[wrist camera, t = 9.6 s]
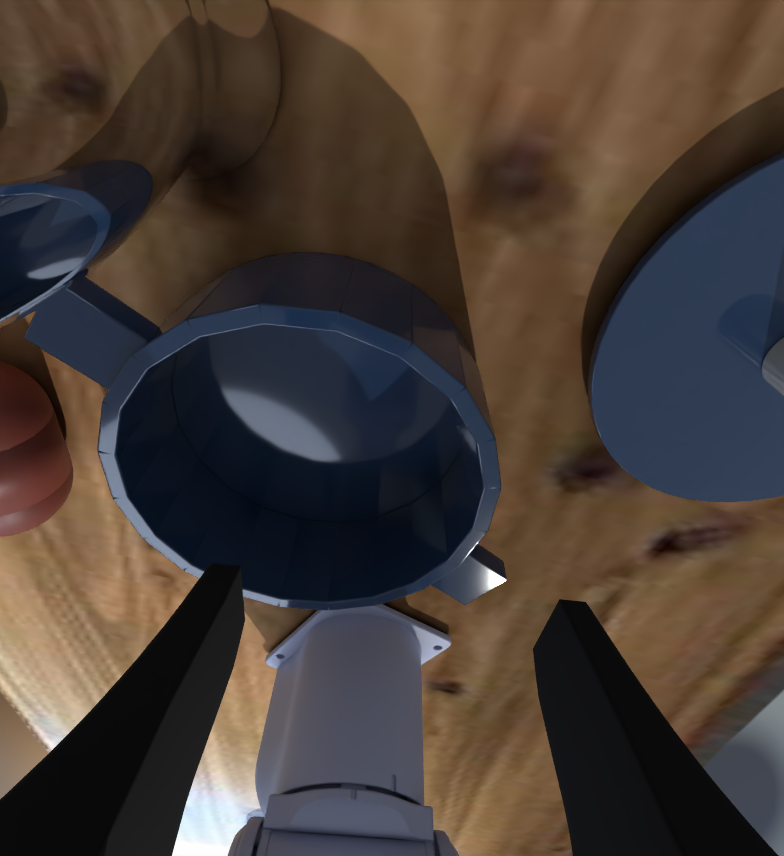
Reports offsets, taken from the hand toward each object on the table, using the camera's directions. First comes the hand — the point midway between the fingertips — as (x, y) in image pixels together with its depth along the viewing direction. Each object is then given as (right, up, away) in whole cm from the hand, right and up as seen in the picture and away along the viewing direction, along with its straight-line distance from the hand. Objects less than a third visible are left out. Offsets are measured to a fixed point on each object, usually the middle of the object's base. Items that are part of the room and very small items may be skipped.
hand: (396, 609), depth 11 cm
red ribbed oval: (-16, +5, +10) cm, 19 cm away
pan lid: (+14, +7, +7) cm, 17 cm away
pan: (-3, +5, +9) cm, 11 cm away
